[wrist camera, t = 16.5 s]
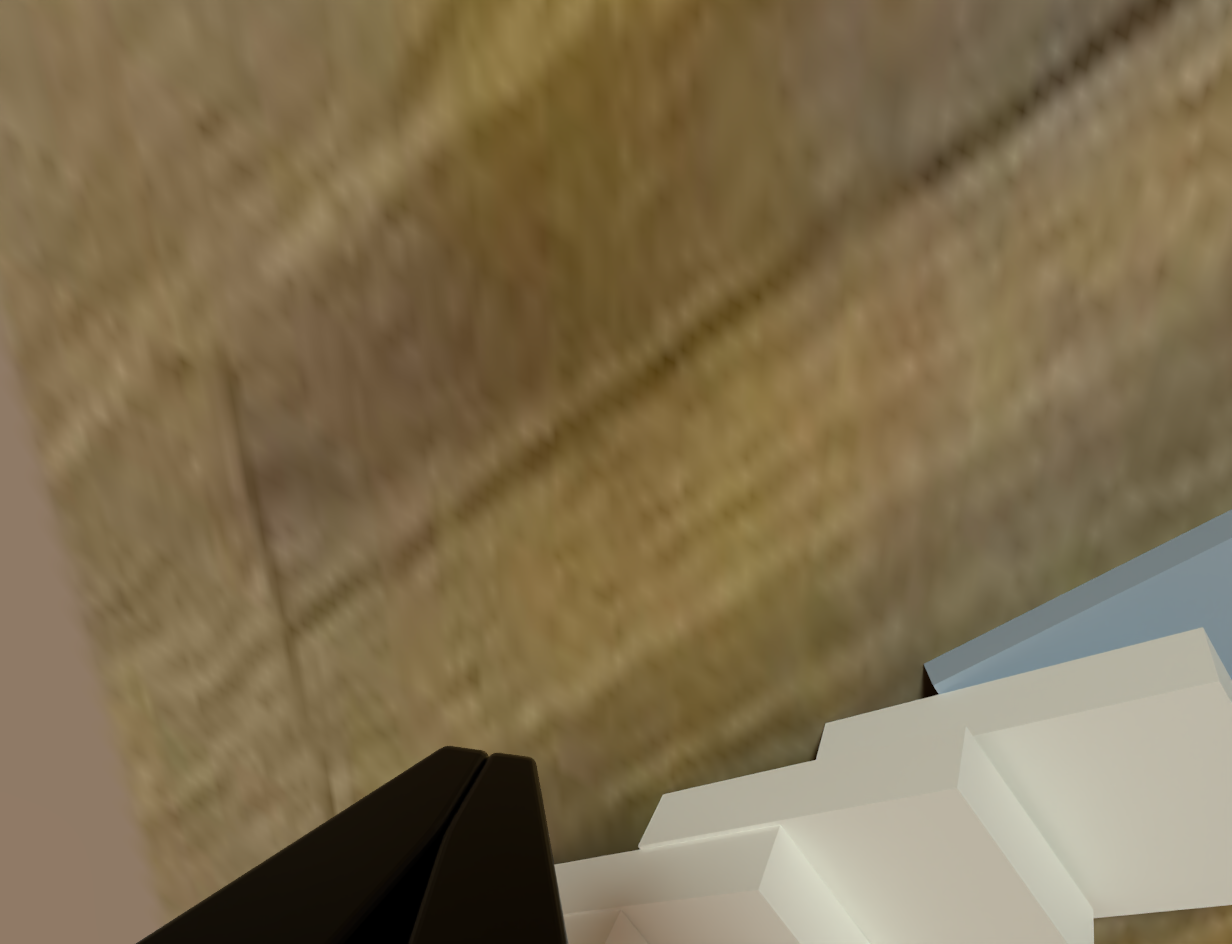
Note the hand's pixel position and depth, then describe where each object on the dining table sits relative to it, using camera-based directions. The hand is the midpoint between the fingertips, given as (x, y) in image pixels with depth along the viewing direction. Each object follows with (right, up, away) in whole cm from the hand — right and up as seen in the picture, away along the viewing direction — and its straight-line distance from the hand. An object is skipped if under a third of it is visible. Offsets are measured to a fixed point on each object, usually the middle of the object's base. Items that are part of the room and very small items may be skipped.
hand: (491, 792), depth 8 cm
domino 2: (+3, -7, +13) cm, 16 cm away
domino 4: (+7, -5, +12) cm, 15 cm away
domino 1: (0, -10, +15) cm, 18 cm away
